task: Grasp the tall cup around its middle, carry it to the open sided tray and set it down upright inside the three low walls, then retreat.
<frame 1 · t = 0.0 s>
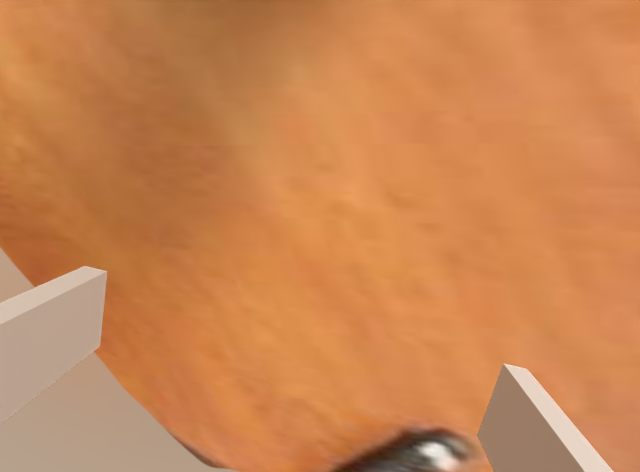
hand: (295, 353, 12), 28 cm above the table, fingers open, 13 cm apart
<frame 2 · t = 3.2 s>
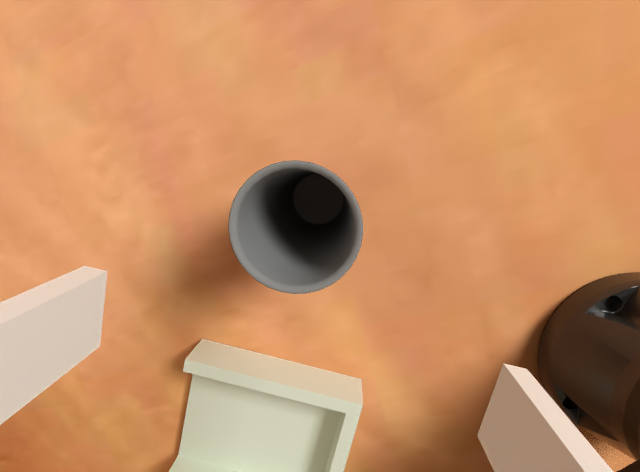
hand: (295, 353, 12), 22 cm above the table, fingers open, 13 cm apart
open sided tray: (267, 419, 39), on the table
cup: (318, 198, 34), on the table
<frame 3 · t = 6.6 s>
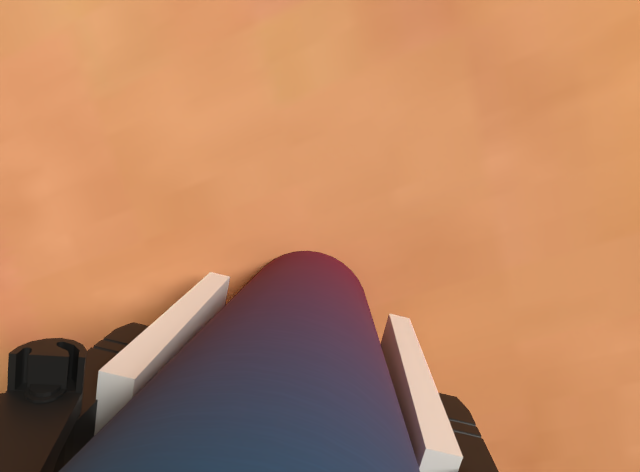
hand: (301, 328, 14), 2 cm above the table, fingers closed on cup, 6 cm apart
cup: (307, 306, 16), on the table, touching gripper
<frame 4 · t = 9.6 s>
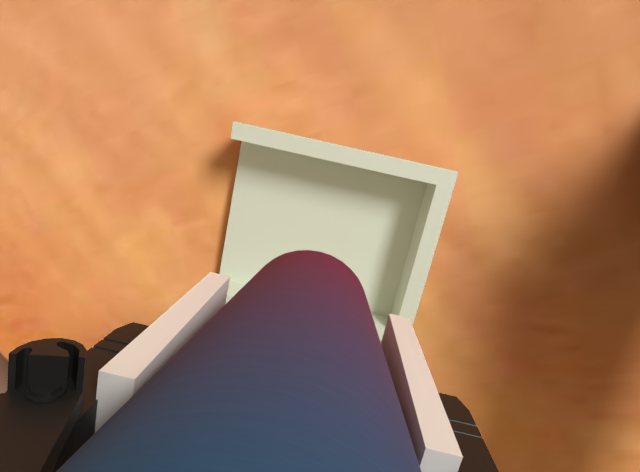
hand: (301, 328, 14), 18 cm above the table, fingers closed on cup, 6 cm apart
open sided tray: (326, 231, 32), on the table
cup: (307, 305, 16), point 16 cm above the table, touching gripper
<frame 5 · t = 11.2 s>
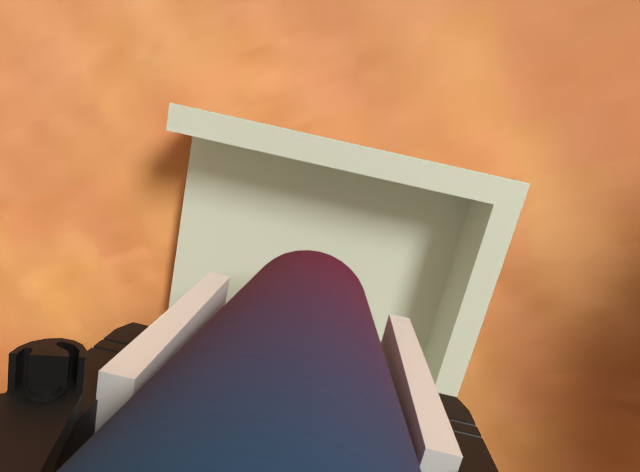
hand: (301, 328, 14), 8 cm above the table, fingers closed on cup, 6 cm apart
open sided tray: (319, 266, 22), on the table
cup: (307, 305, 16), point 6 cm above the table, touching gripper
when the fingers open (5 cm above the table, at t = 12.5 s): cup drops 2 cm, resting on open sided tray.
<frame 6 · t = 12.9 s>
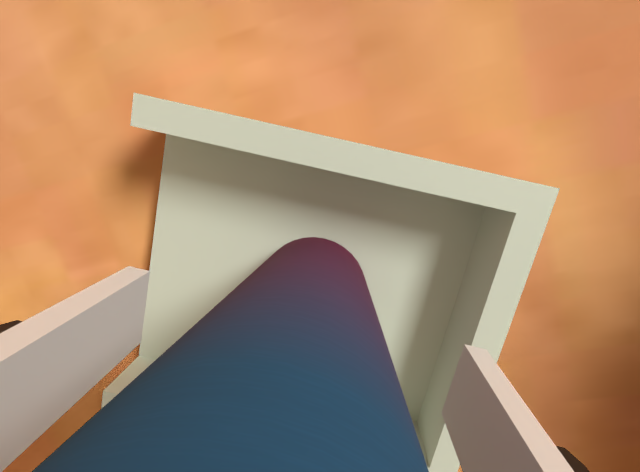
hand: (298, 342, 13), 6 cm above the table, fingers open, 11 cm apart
open sided tray: (313, 281, 19), on the table
cup: (313, 286, 19), point 1 cm above the table, touching open sided tray
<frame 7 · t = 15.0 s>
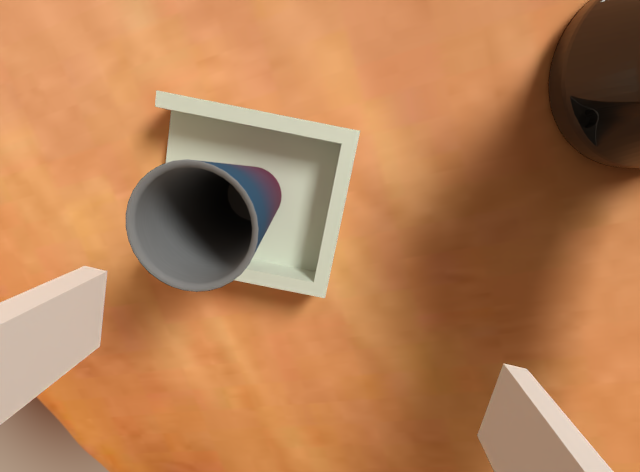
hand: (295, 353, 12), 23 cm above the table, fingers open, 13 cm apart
open sided tray: (255, 194, 35), on the table
cup: (254, 194, 34), point 1 cm above the table, touching open sided tray
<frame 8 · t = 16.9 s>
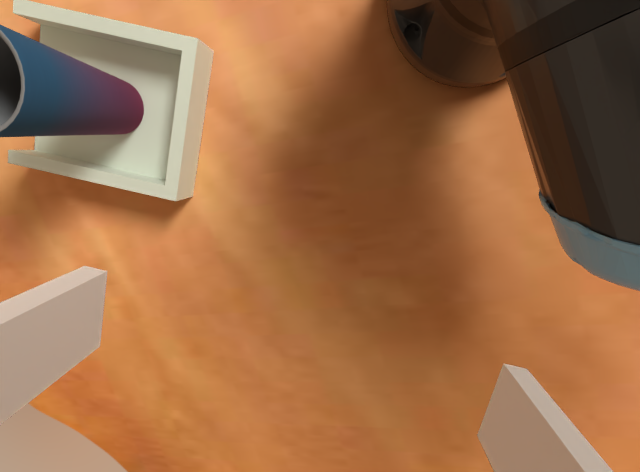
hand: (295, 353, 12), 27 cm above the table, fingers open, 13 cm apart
open sided tray: (123, 108, 37), on the table
cup: (119, 107, 37), point 1 cm above the table, touching open sided tray
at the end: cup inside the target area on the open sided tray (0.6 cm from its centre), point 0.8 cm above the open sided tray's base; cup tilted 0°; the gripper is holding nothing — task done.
